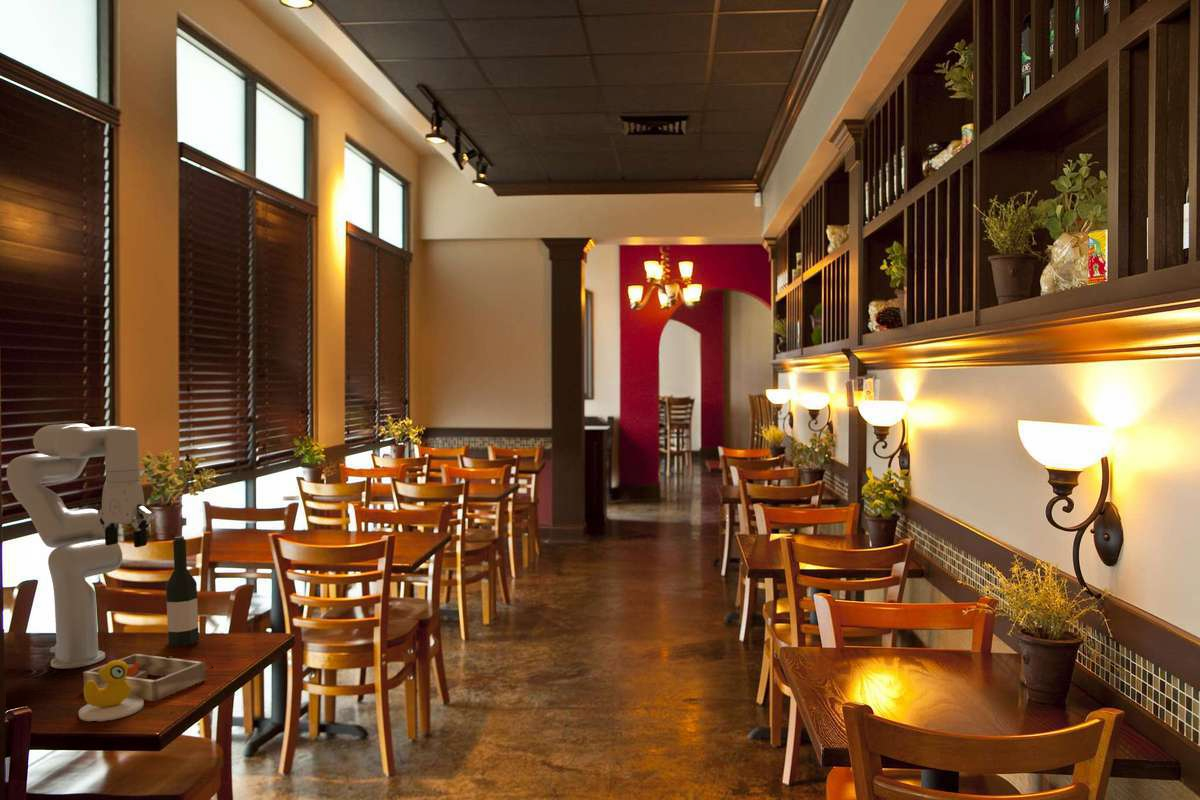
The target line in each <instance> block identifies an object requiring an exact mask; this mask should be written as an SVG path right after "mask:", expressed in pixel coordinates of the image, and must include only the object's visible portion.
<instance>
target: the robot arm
mask: <svg viewBox="0 0 1200 800" xmlns="http://www.w3.org/2000/svg"><path fill="white" fill-rule="evenodd" d="M32 444H33V447H34V449H36V451H37V453H31V454H30V453H28V454H24V455H20V456H17V457H15V458H12V460H11V461H10V462H9V463H8V465H7V466H6V467H7V468H6V480H7V483H8V486H9V489H10V491H11V493H12V496H14V498H15V499H16V500H17V502H18V503H19V504H20V505H22V507H23V509H25V511H26V512H27V514H28V516H29V517H30V520H31V521H32V524H33V526H34V527H35V530H36V531H37V533H38V535H39V537H40V539H41V541H42V542H43V543H44V544H45V546H47V547H49V548H52V549H53V548H54V549H53V550H52V551H51V552H50V553H49V555H48V557H47V559H48V561H47V562H48V563H47V565H48V569H49V574H50V577H51V582H52V587H53V599H54V600H53V601H54V617H55V620H54V621H55V639H56V643H55V645H54V646H52V647H50V648H49V653H53V654H54V655H55V657H54V658H52V659H51V660H50V666H51V667H52V668H54V669H60V670H61V669H77V668H81V667H82V668H83V667H86V666H87V667H88V666H91V665H94V664H97V663H99V662H101V661H103V660H104V659H105V658H106V652H104V651H102V650H99V638H98V637H99V636H98V617H97V616H98V615H97V614H98V613H97V597H96V592H95V589H94V588H93V587H92V585H90V584H89V583H88V581H87V580H86V578H89V577H93V576H99V575H102V574H108V573H112V572H115V571H116V570H118V569H119V568H120V567H121V565H122V563H123V552H122V549H121V546H120V543H119V539H118V538H119V537H118V536H119V534H118V532H119V531H118V527H117V525H118V524H119V525H128V524H131V525H132V527H133V528H134V531H133V546H134V548H141V547H145V546H147V542H148V541H147V530H149V526H150V524H151V520H152V517H153V512H151V511H150V510H148V509H147V508H146V506H145V505H146V504H145V494H144V489H143V485H142V482H141V475H140V474H141V473H140V472H141V470H140V453H139V452H140V451H139V450H140V449H139V448H140V447H139V432H138V430H137V428H135V427H131V426H129V427H128V426H127V427H125V426H119V425H105V426H90V425H88V424H86V423H83V422H81V423H79V422H77V423H75V422H74V423H64V424H61V423H60V424H50V425H49V424H48V425H46V426H42V427H41V428H40V429H38V430H37V431H36V432H35V434H34V435H33V439H32ZM98 457H104V464H105V465H104V468H105V482H104V484H103V488H102V494H101V508H100V509H98V510H97V509H95V508H87V507H86V508H79V509H68V508H67V506H66V504H65V503H64V501H63V499H62V498H61V496H59V495H58V494H57V493H56V492H54V491H53V490H52V489H50V488H48V487H46V486H44V485H43V484H45V485H46V484H53V483H61V482H68V481H69V482H70V481H72V480H76V479H77V478H78V477H79V476H80V475H81V474H82V472H83V470H84V468H85V466H86V464H87V463H88V461H89V460H90V458H98Z"/></svg>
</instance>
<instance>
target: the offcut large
mask: <svg viewBox="0 0 1200 800" xmlns="http://www.w3.org/2000/svg"><path fill="white" fill-rule="evenodd" d="M132 677H134V678H141V679H147V678H148V674H147V671H139V673H137V674H136V675H134V676H132Z"/></svg>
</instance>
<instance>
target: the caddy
mask: <svg viewBox="0 0 1200 800" xmlns="http://www.w3.org/2000/svg"><path fill="white" fill-rule="evenodd" d="M118 660H121V661H124V662H125V663H126V664H135V663H136V661H138V662H139V671H147V675H150V676H156V677H160V678H157V679H147V678H146V679H141V678H134V677H127V676H126V678H125V679H124V680H126V681H127V682H128V683H129V684H130V686H131V690H130V693H129V695H128V696H137V697H141V698H142V699H143V700H144V701H151V702H157V701H160V700H162V698H163V699H164V697H165V698H167V697H169V695H170V696H172V695H174V694H177V693H179V692H181V691H184V690H185V688H186V689H188V688H187V687H189V688H191V687H193V686H195V685H194V684H196V683H198V684H200V683H202V682H201V681H203V682H205V681H206V669H205V668H206V667H205V666H206V665H205V664H206V662H204V661H199V660H189V659H182V658H181V659H180V658H174V657H170V658H166V657H165V656H164V657H163V656H157V655H156V656H155V655H147V654H141V653H134V654H131V655H129V656H125V657H122V658H120V659H118ZM106 664H107V663H106ZM106 664H103V665H100V666H97V667H94V668H91V669H90V670H85V671H83V672H82V674H83V687H84V686H85V684H86V683H87V682H88V681H89V680H94V681H95V682H96V684H97V686H98V688H105V687H106V686H107V685H108V684H109V683H106V682H105V681H104V680H103V679H102V678H101V677H100V675H99V670H100V669H101V668H102V667H104V666H105V665H106ZM158 675H159V676H158ZM164 676H165V677H164ZM204 680H205V681H204ZM199 682H200V683H199ZM192 685H193V686H192ZM196 685H197V684H196ZM190 686H191V687H190ZM183 689H184V690H183ZM180 690H181V691H180ZM178 691H179V692H178ZM176 692H177V693H176ZM171 694H172V695H171ZM166 696H167V697H166Z"/></svg>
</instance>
